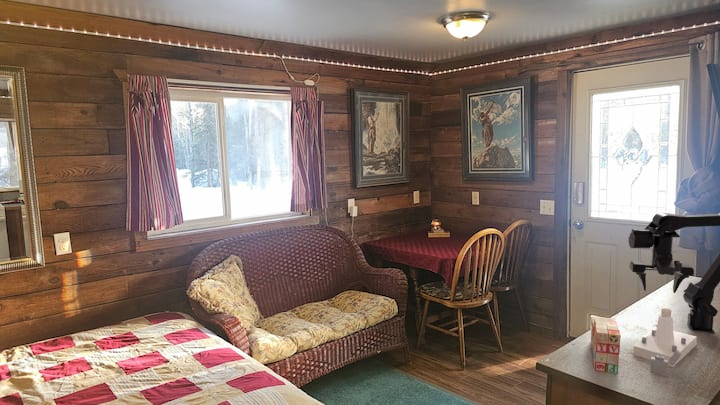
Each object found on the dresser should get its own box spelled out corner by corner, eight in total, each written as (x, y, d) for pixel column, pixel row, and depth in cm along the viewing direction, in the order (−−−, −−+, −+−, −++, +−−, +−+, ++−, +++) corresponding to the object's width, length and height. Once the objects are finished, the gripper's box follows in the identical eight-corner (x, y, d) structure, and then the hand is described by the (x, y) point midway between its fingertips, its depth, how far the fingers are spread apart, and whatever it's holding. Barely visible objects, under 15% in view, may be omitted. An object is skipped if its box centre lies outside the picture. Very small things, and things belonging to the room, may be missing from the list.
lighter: (650, 372, 139) (652, 346, 138) (651, 370, 141) (652, 344, 140) (679, 379, 135) (681, 353, 134) (679, 377, 136) (682, 350, 135)
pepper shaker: (654, 337, 156) (656, 305, 154) (674, 341, 153) (676, 308, 151) (653, 344, 151) (656, 310, 150) (674, 347, 148) (676, 313, 147)
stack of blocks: (590, 342, 161) (591, 307, 159) (611, 345, 158) (613, 309, 157) (594, 371, 141) (596, 331, 139) (618, 374, 139) (620, 334, 137)
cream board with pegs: (658, 335, 165) (659, 322, 164) (695, 345, 156) (697, 332, 156) (633, 354, 151) (634, 341, 150) (673, 367, 142) (674, 352, 142)
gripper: (637, 252, 164) (634, 296, 166) (701, 256, 158) (697, 301, 160) (630, 245, 174) (628, 286, 176) (690, 248, 168) (686, 291, 170)
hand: (659, 291), depth 170 cm, fingers open, 9 cm apart
